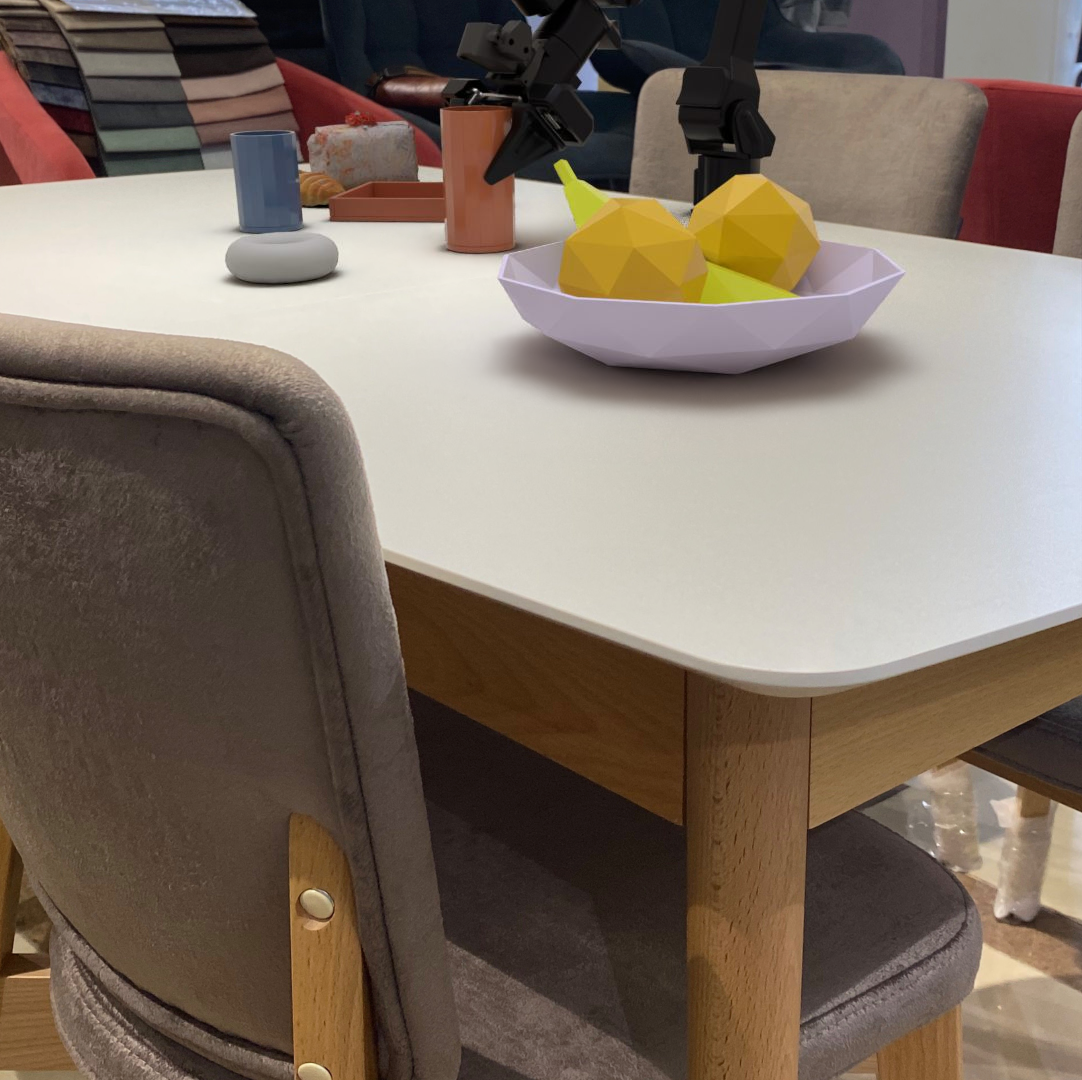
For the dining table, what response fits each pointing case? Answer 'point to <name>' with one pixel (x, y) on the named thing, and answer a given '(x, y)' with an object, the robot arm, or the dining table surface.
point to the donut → (282, 257)
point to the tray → (390, 202)
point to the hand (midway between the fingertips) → (466, 179)
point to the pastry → (318, 188)
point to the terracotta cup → (476, 180)
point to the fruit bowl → (696, 280)
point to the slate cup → (267, 181)
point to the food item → (364, 151)
